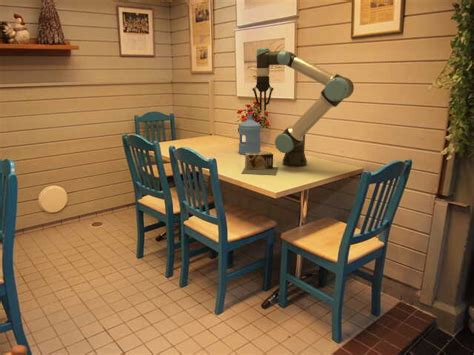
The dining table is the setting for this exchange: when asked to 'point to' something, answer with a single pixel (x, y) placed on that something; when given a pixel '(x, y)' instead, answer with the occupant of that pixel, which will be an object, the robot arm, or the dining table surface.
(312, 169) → the dining table surface
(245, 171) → the mat
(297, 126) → the robot arm
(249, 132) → the water jug
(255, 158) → the coffee box
